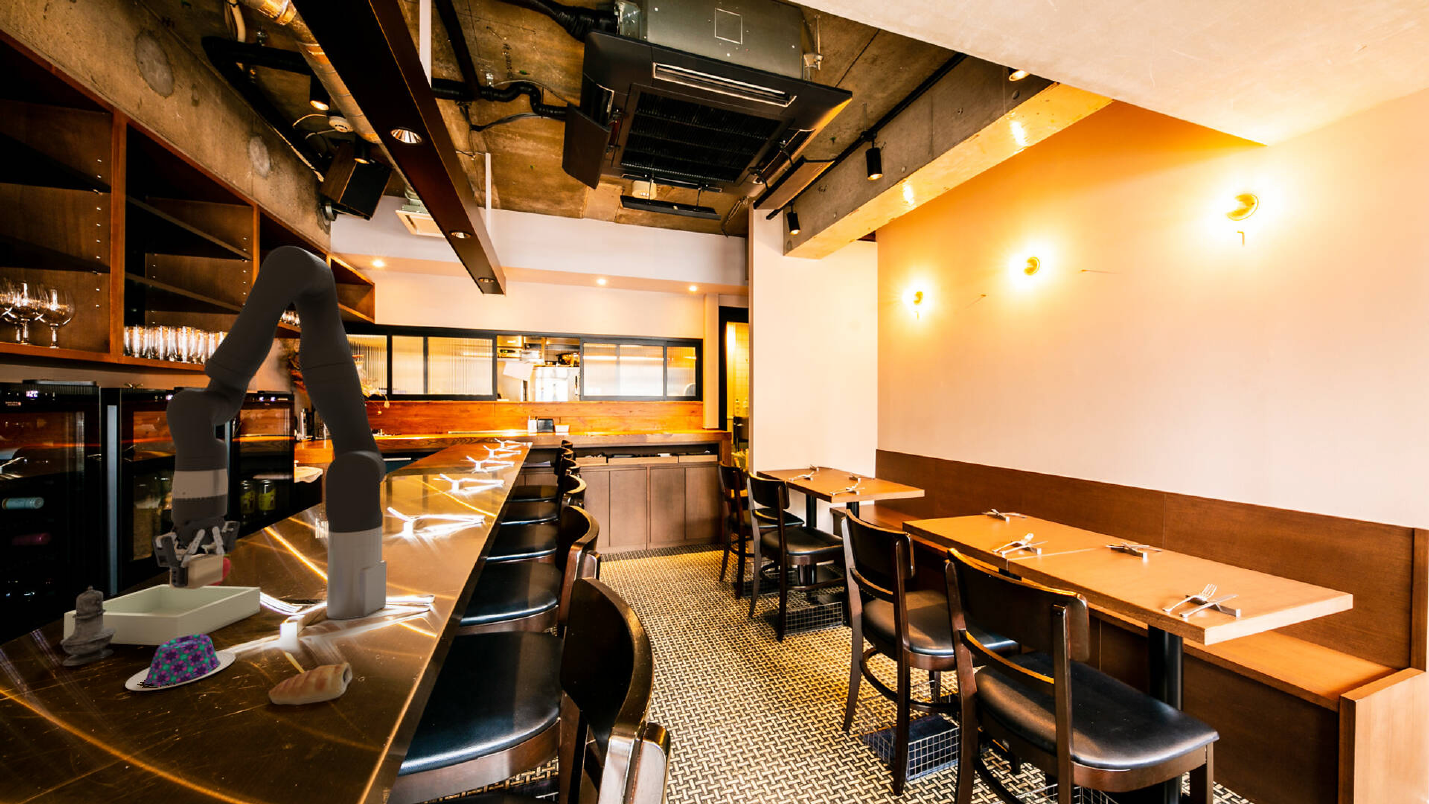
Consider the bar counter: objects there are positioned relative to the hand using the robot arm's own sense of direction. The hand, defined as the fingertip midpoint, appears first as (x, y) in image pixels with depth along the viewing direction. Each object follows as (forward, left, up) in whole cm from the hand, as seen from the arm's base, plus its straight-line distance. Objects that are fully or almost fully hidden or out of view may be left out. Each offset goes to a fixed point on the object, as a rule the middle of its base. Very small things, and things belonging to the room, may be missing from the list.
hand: (197, 581), depth 96 cm
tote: (+6, 0, -9) cm, 10 cm away
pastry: (-42, +19, -9) cm, 47 cm away
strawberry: (+17, -18, -9) cm, 26 cm away
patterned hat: (-16, +15, -9) cm, 24 cm away
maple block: (0, 0, 0) cm, 0 cm away
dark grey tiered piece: (+5, +12, -9) cm, 16 cm away
